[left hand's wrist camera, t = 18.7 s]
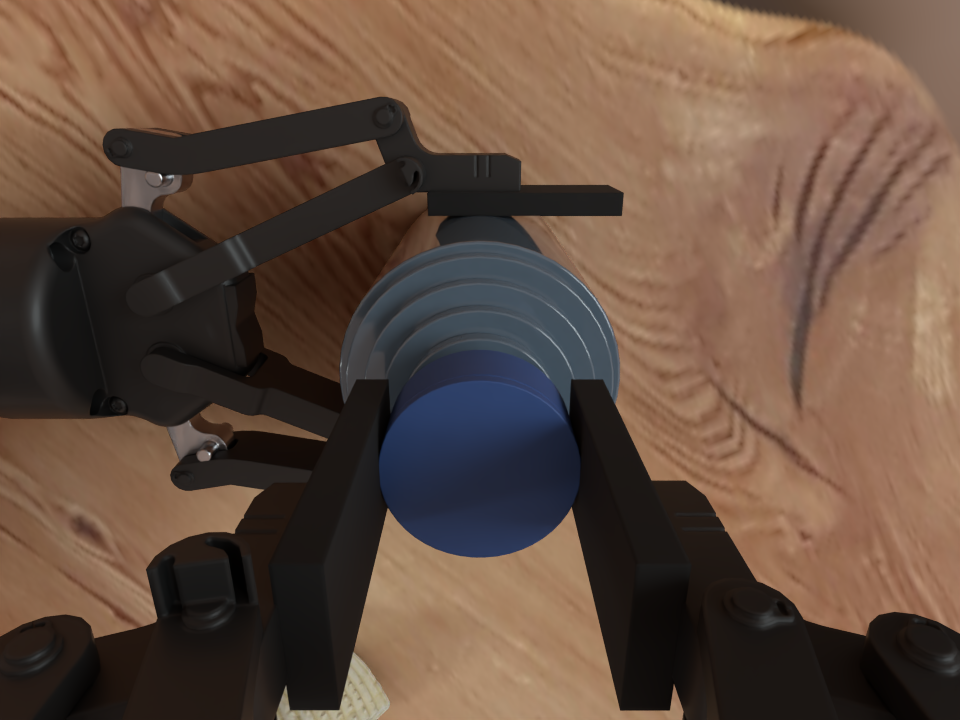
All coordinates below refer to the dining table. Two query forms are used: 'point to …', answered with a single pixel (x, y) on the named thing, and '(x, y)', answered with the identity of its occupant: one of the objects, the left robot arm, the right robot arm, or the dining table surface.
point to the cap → (479, 455)
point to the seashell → (346, 699)
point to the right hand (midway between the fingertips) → (605, 318)
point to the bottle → (479, 305)
